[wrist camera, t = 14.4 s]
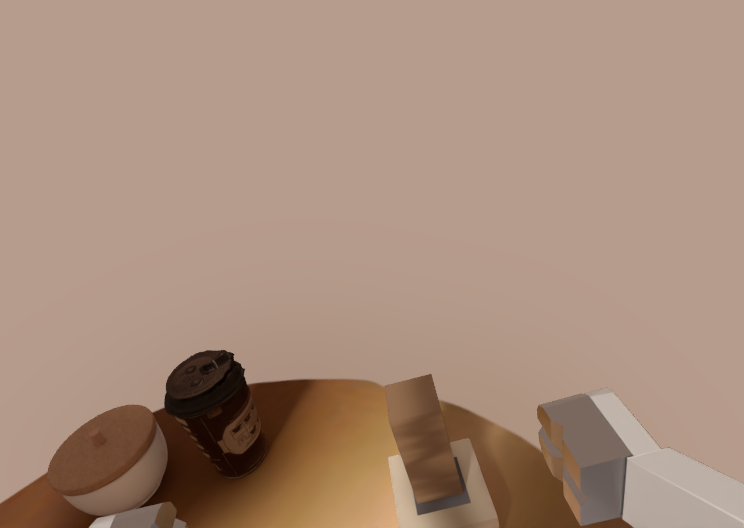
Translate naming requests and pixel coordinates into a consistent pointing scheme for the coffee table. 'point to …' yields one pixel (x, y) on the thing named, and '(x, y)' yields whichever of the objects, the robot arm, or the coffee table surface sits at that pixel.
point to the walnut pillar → (422, 439)
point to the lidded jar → (111, 462)
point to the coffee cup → (217, 411)
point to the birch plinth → (451, 514)
